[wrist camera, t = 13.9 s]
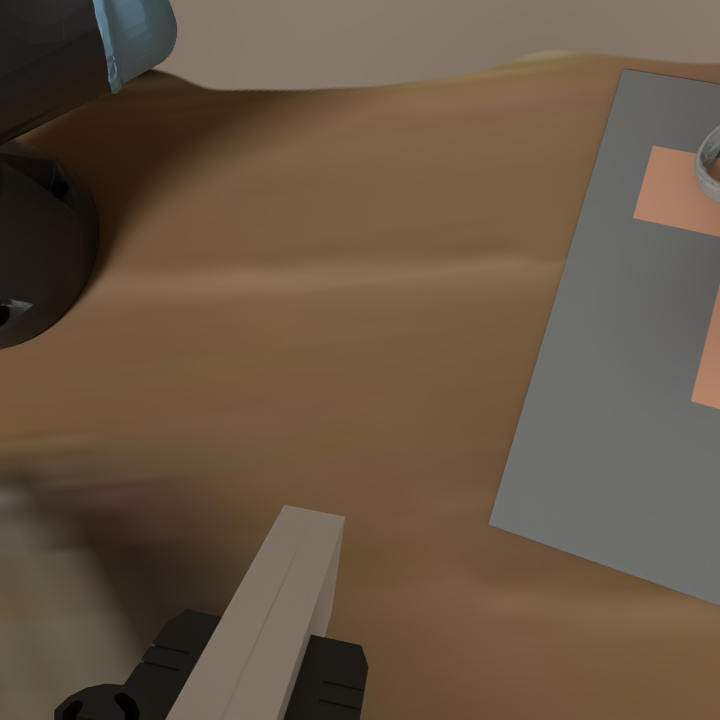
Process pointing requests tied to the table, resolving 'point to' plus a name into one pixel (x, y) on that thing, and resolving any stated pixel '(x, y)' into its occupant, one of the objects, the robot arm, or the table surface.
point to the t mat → (632, 358)
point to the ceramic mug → (708, 165)
